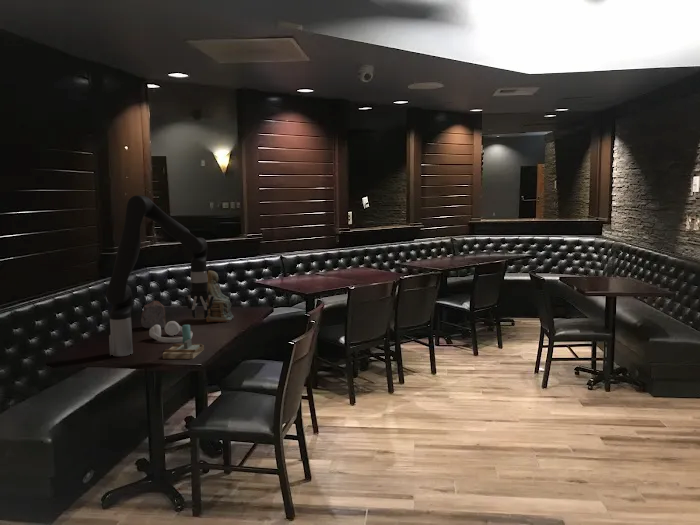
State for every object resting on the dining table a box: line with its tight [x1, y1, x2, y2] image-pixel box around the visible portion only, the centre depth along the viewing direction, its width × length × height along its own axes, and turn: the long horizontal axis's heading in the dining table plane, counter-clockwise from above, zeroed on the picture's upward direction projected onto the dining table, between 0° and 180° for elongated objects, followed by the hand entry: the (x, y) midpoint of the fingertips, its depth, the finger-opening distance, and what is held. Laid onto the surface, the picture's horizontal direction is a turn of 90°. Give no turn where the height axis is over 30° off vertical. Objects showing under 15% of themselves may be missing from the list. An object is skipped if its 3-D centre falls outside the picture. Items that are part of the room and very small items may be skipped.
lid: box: [177, 338, 200, 350], centre depth 272 cm, size 8×8×4 cm
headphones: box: [148, 320, 194, 344], centre depth 303 cm, size 20×8×20 cm
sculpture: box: [205, 270, 235, 323], centre depth 347 cm, size 24×16×30 cm, turn 179°
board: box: [162, 343, 205, 360], centre depth 272 cm, size 14×16×3 cm
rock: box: [140, 300, 167, 329], centre depth 329 cm, size 14×12×15 cm
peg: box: [181, 324, 192, 344], centre depth 284 cm, size 4×4×11 cm
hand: (200, 317), depth 270 cm, fingers open, 4 cm apart
